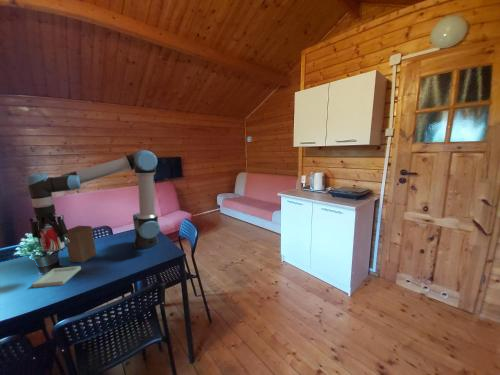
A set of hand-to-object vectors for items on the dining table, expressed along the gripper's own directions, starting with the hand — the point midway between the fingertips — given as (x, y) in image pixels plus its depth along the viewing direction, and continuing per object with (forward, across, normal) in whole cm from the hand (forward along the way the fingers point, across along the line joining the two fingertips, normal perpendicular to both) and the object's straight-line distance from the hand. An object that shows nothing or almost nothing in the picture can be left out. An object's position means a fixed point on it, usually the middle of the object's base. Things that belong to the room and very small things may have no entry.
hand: (53, 248), depth 110 cm
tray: (+17, +2, -1) cm, 17 cm away
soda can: (+1, 0, 0) cm, 1 cm away
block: (+17, 0, -21) cm, 27 cm away
